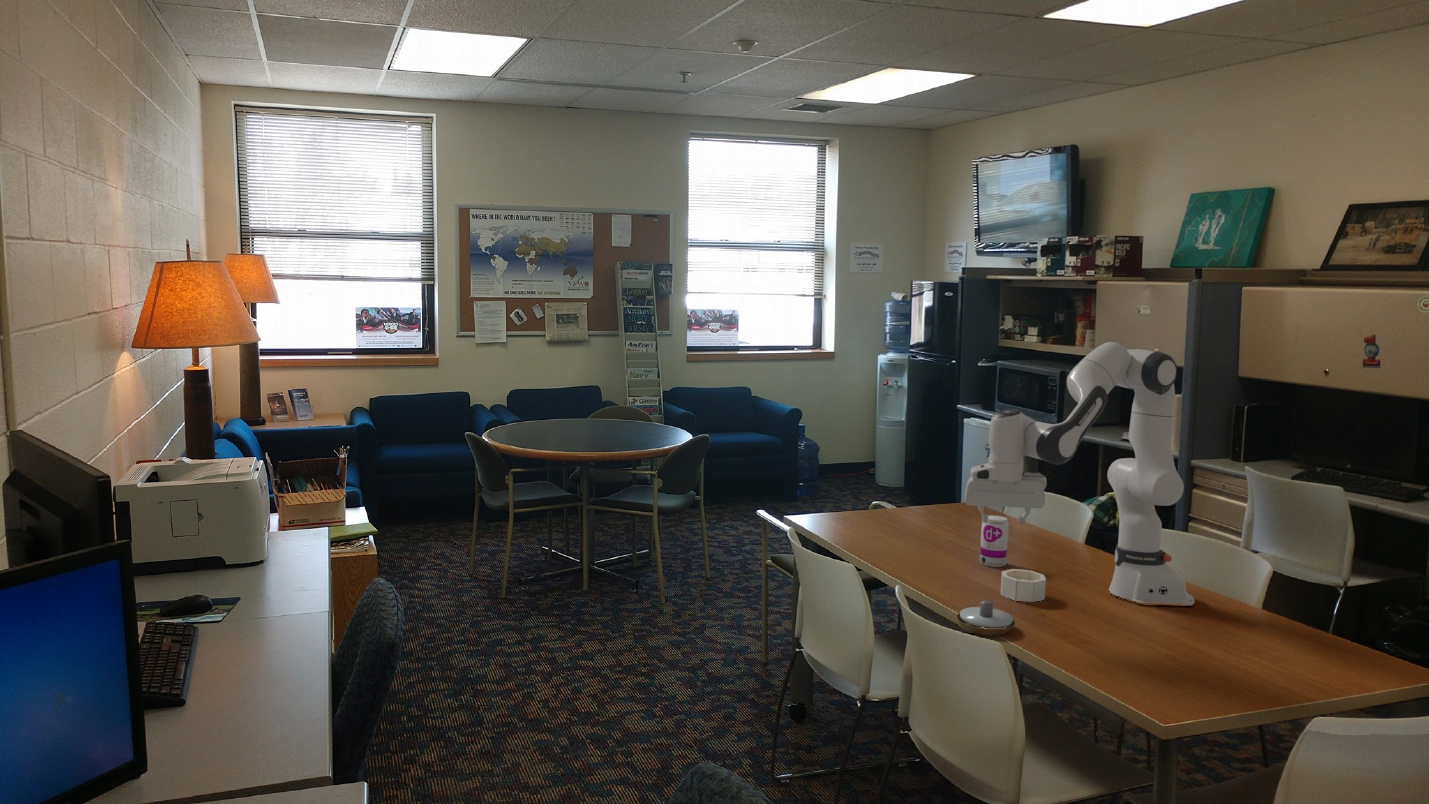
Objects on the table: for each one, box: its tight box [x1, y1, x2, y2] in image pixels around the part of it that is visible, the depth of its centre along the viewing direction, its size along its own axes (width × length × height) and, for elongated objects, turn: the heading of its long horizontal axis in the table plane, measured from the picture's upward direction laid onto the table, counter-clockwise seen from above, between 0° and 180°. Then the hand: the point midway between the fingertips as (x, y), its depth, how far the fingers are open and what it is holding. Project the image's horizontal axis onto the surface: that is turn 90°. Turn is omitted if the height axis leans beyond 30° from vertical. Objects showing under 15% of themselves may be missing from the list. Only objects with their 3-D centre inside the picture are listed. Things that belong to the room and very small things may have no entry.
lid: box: [959, 599, 1014, 628], centre depth 246 cm, size 13×13×4 cm
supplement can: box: [979, 514, 1010, 568], centre depth 304 cm, size 8×8×15 cm
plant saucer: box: [955, 611, 1016, 636], centre depth 247 cm, size 15×15×3 cm
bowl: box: [1000, 568, 1047, 602], centre depth 273 cm, size 12×12×6 cm
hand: (1003, 523), depth 253 cm, fingers open, 8 cm apart
